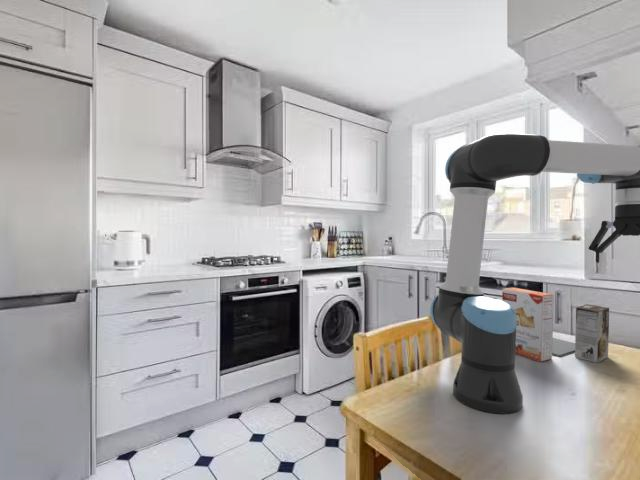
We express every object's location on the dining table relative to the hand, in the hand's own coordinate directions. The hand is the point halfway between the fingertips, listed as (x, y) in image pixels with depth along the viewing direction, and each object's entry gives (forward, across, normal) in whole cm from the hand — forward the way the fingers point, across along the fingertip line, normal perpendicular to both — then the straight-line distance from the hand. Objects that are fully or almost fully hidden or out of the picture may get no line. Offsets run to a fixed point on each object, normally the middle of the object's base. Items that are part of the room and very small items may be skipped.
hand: (629, 276), depth 104 cm
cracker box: (+27, +22, +15) cm, 38 cm away
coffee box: (+28, +9, -1) cm, 29 cm away
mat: (+27, +21, -1) cm, 35 cm away
